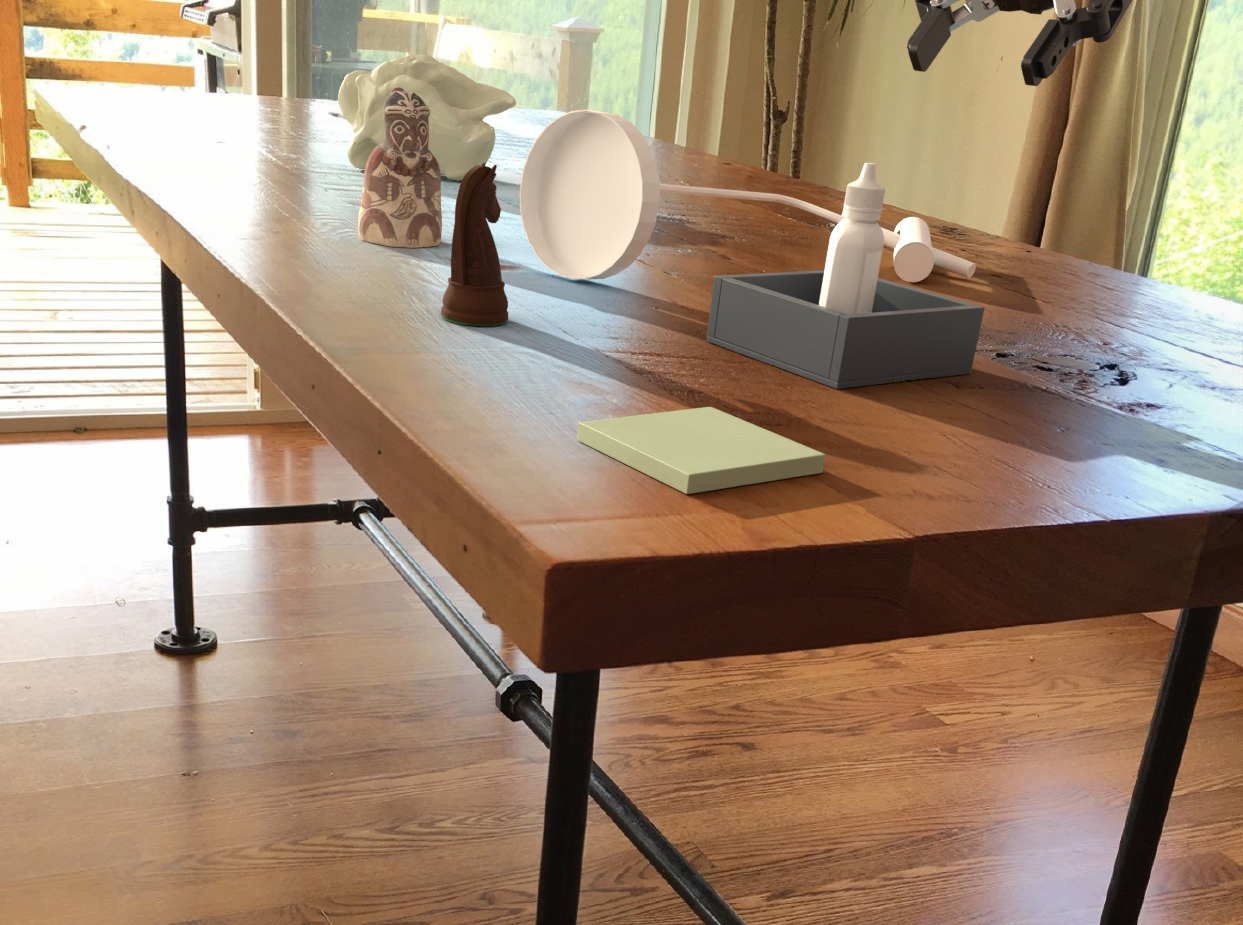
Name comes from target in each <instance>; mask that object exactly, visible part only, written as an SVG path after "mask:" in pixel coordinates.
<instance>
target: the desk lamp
mask: <svg viewBox="0 0 1243 925" xmlns="http://www.w3.org/2000/svg"><path fill="white" fill-rule="evenodd" d="M659 178H660V177H659V173H658V166H657V163H656V159H655V157H654V154H653V151H652V148H651V146H650V145H649V143H648V141H647V139H646V138H645V136H644V135H643V133H642V132H641V131H640V130H639V129H638V128H637V127H636V126H635V125H634V124H633V123H632V122H631V121H629V120H628V119H625V118H624V117H622V116H620V115H618V114H615V113H610V112H606V111H601V110H600V111H599V110H593V109H578V110H570V111H568V112H566V113H564V114H562V115H560V116H557V117H556V118H555V119H554V120H553V121H551V122H550V123H548V124H547V125H546V126H545V127H544V129H543V130H542V131H541V132H540V134H538V136H537V137H536V139H535V140H534V143H533V144H532V146H531V148H530V150H529V152H528V154H527V157H526V160H525V163H524V165H523V169H522V172H521V178H520V179H521V180H520V186H519V211H520V217H521V222H522V228H523V230H524V233H525V236H526V239H527V241H528V244H529V246H530V247H531V249H532V250H533V252H534V254H535V257H537V258H538V259H539V260H540V261H541V263H542V264H543V265H544V266H545V267H546V268H547V269H549V270H550V271H552V272H554V273H555V274H557V276H561V277H563V278H568V279H570V280H605V279H607V278H610V277H613V276H614V277H615V276H617V275H618V274H620V273H621V272H623V271H625V270H626V269H627V268H629V267H630V266H632V264H633V263H634V262H635V261H636V260H637V259H638V258H639V257H640V256H641V254H642V252H643V251H644V250H645V248H646V246H647V244H648V242H650V238H651V236H652V233H653V231H654V228H655V225H656V223H657V218H658V213H659V212H658V211H659V207H660V194H671V195H672V194H673V195H684V196H685V195H686V196H697V197H707V198H708V197H709V198H721V199H732V200H733V199H735V200H746V201H747V200H748V201H758V202H771V203H777V204H781V205H786V206H790V207H792V208H793V207H794V208H797V209H800V210H803V211H805V212H808V213H810V214H813V215H816V216H818V217H820V218H823V219H826V220H829V221H831V222H834V223H837V224H838V223H839V222H840V221H841V220H842V219H844V218H846V217H844V216H842V213H841V214H838V213H836V212H833V211H830V210H828V209H826V208H822V207H820V206H818V205H815V204H812V203H810V202H807V201H804V200H801V199H798V198H795V197H791V196H787V195H784V194H778V193H770V192H759V191H750V190H749V191H746V190H737V189H735V190H734V189H725V188H724V189H723V188H713V187H702V186H691V185H681V184H680V185H679V184H670V183H669V184H667V183H660V179H659ZM837 224H836V225H837ZM880 227H881V226H880ZM881 229H882V231H883V235H884V247H888V248H891V249H893V269H894V272H895V273H896V275H897V276H898V277H899V278H900V279H901V280H902V281H905V282H906V283H907V282H908V283H917V282H921V281H922V280H924V279H926V278H927V277H928V276H929V275H930V274H931V272H932V271H933V268H934V266H936V267H939V268H941V269H944V270H947V271H948V272H951V273H955V274H957V275H958V276H962V277H964V278H966V279H971V278H972V277H973V275H974V274H975V272H976V269H977V268H976V267H977V264H976V263H975V262H972V261H969V260H967V259H964V258H962V257H960V256H956V255H954V254H952V253H949V252H946V251H944V250H941V249H939V248H936V247H933V245H932V237H931V232H930V227H929V225H928V223H927V222H926V221H925V220H924V219H922V218H920V217H917V216H909V217H905V218H903V219H902V220H901V221H900V222H899V223H898V224H897V225H896V226H895V228H894V231H891V230H889V229H887V228H885V227H881Z"/></svg>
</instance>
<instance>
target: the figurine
mask: <svg viewBox="0 0 1243 925" xmlns="http://www.w3.org/2000/svg"><path fill="white" fill-rule="evenodd" d="M429 115H430V109H429V108H428V107H427V106H426V104H425V103H424V101H423V100H422V99H421V98H420V97H419V96H418V95H416V94H415V93H414V92H410V91H404V90H403V89H402V88H400V87H396V88H394V89H392V93H391V94H390V95H389V96H388V98H387V99H386V101H385V103H384V106H383V121H384V142H383V143H381V144H379V145H378V146H376V147H375V149H374V150H373V151H372V153H371V154H370V156H369V158H368V160H367V163H366V167H365V171H363V172H364V173H363V174H364V176H363V185H362V193H361V201H360V205H359V211H358V217H357V225H358V226H357V232H358V238H359V240H361V241H363V242H368V243H371V244H376V245H381V246H386V247H392V248H411V249H416V248H417V249H418V248H429V247H437V246H440V245H441V242H442V233H443V232H442V231H443V214H442V189H441V188H442V186H441V185H442V179H441V178H442V177H441V176H442V175H440V168H439V164H438V162H437V160H436V158H435V157H434V156H433V154H432V153H431V152H430V150H428V141H429Z"/></svg>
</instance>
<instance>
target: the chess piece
mask: <svg viewBox="0 0 1243 925" xmlns="http://www.w3.org/2000/svg"><path fill="white" fill-rule="evenodd" d="M497 167H498V166H497V164H494V165H493V166H492V167H490V166H487V165H485V163H483V164H482V165H477V166H475V167H473V168H471V169H470V170H469V171H468V172H467V173H466V174H465V176H464V178H463V179H462V180H461V182H460V184H459V187H458V191H457V195H456V201H455V207H454V225H453V230H452V237H451V238H452V239H451V253H450V277H448V278H447V282H448V285H447V287H446V288H445V291H444V294H443V296H442V306H441V308H440V315H441V317H442V319H443V320H445V321H447V322H449V323H453V324H458V325H463V326H471V327H495V326H501V325H504V324H506V323H507V321H508V320H509V312H508V308H509V301H508V297H507V294H506V292H505V286H506V282H505V281H503V277H502V276H503V275H502V269H501V263H500V257H499V253H498V249H497V245H496V242H495V239H494V236H493V233H492V230H491V228H490V226H489V224H497V222H498V221H499V219H500V218H501V212H502V208H501V206H500V204H499V200H498V197H497V185H496V184H495V183H494V181H495V178H496V177H497V173H496V171H497Z"/></svg>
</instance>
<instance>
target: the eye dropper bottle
mask: <svg viewBox="0 0 1243 925" xmlns="http://www.w3.org/2000/svg"><path fill="white" fill-rule="evenodd" d="M885 194H886V188H885V187H884V186H883V185H881V184H880V183H879V182H878V180H877V164H876V163H874V162H864V164H863V167H862V170H861V172H860V175H859V177H858V179H856V180H855V181H852V182H850V183H848V184H847V185H846V191H845V196H844V200H843V201H844V202H843V208H842V213H841V214H842V216H844V217H846V218H844V219H842V220H841V221H840V222H839V223H838V224H836V226H834V228H833V230H832V232H831V234H830V237H829V242H828V248H827V252H826V259H825V264H824V269H823V270H824V276H823V283H822V289H821V295H820V301H819V305H820V306H823V307H826V308H829V309H833V310H836V311H839V312H842V313H846V314H861V313H872V307H873V302H874V296H875V291H876V285H877V280H878V278H879V273H880V269H881V263H882V257H883V251H884V247H885V245H884V235H883V231H882V229H881V226H880V223H879V222H878V221H880V220H881V216H882V212H883V211H882V209H883V204H884V198H885Z"/></svg>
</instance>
